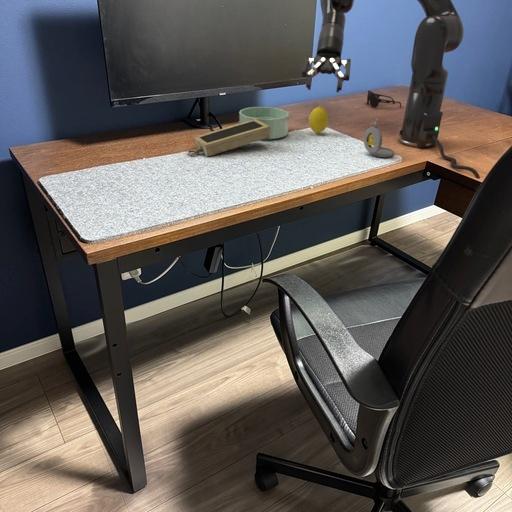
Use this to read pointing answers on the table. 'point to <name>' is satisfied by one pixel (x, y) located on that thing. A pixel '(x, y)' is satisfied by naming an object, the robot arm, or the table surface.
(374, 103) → the sunglasses
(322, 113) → the lemon
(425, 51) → the robot arm
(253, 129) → the box
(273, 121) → the bowl
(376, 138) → the pocket watch
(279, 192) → the table surface
